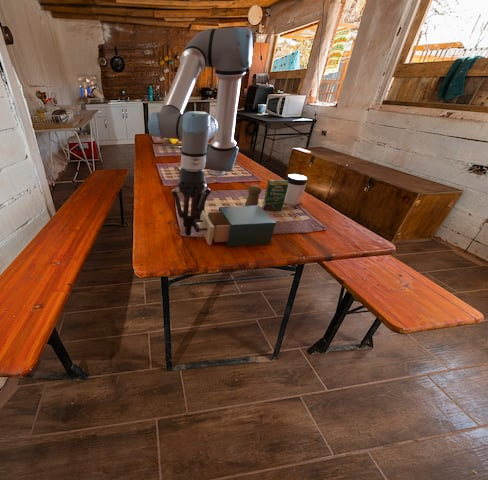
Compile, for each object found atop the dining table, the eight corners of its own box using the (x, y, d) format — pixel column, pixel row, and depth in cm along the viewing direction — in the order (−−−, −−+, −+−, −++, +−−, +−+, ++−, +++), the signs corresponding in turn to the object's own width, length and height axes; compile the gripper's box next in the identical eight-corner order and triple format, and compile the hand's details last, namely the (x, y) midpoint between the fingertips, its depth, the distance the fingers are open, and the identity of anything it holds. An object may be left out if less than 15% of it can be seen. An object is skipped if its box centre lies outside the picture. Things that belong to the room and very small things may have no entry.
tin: (189, 214, 108) (191, 186, 101) (201, 213, 109) (204, 185, 102) (192, 220, 104) (194, 191, 97) (205, 219, 104) (208, 190, 98)
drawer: (196, 245, 87) (197, 228, 83) (188, 227, 97) (189, 211, 93) (248, 242, 89) (252, 225, 85) (235, 224, 99) (238, 209, 96)
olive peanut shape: (255, 214, 109) (260, 190, 103) (241, 210, 112) (246, 186, 106) (259, 209, 114) (264, 185, 108) (245, 205, 116) (250, 182, 110)
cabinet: (227, 246, 88) (231, 224, 83) (216, 227, 99) (218, 206, 95) (270, 243, 90) (276, 222, 85) (253, 225, 101) (258, 205, 97)
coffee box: (262, 209, 113) (269, 181, 106) (261, 206, 116) (268, 178, 109) (281, 211, 112) (289, 182, 105) (280, 208, 115) (288, 180, 108)
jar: (292, 206, 117) (300, 181, 110) (277, 200, 122) (283, 176, 116) (303, 202, 121) (311, 177, 114) (288, 196, 127) (295, 172, 120)
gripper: (173, 172, 74) (171, 240, 87) (216, 171, 76) (208, 238, 89) (170, 164, 81) (168, 229, 93) (209, 164, 82) (202, 227, 95)
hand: (187, 233), depth 91 cm, fingers closed
